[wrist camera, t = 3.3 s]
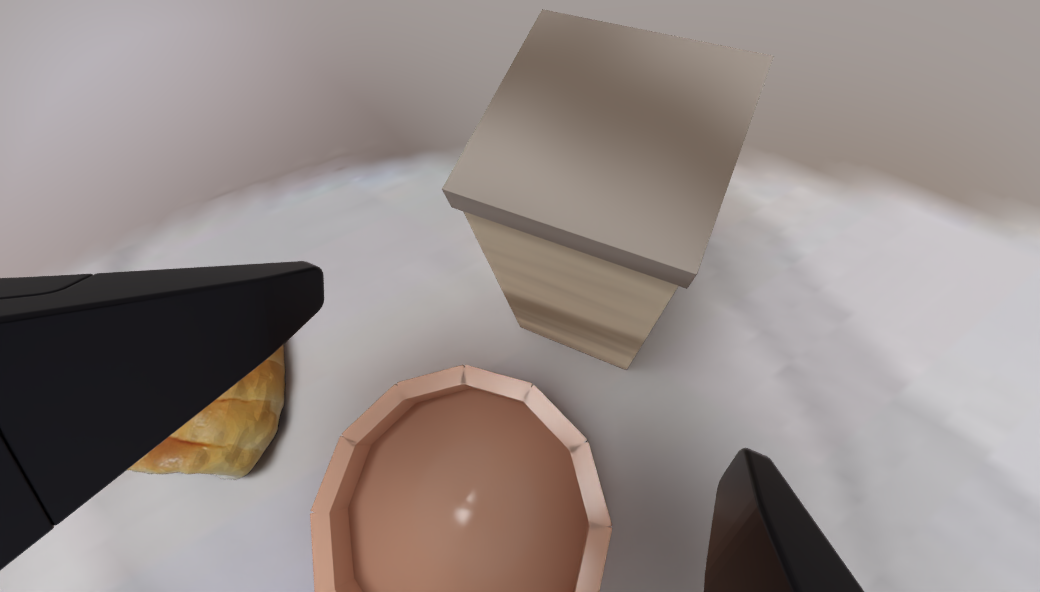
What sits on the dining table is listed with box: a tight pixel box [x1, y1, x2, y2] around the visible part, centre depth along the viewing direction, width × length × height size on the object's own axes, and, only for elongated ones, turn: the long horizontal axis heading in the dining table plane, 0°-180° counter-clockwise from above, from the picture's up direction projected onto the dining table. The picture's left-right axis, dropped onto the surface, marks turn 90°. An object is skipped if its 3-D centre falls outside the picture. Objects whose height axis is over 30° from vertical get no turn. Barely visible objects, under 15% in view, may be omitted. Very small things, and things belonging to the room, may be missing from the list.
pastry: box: [127, 344, 285, 480], centre depth 21 cm, size 9×7×4 cm
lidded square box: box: [442, 10, 774, 370], centre depth 16 cm, size 6×6×12 cm
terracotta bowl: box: [310, 365, 612, 592], centre depth 18 cm, size 12×12×2 cm
